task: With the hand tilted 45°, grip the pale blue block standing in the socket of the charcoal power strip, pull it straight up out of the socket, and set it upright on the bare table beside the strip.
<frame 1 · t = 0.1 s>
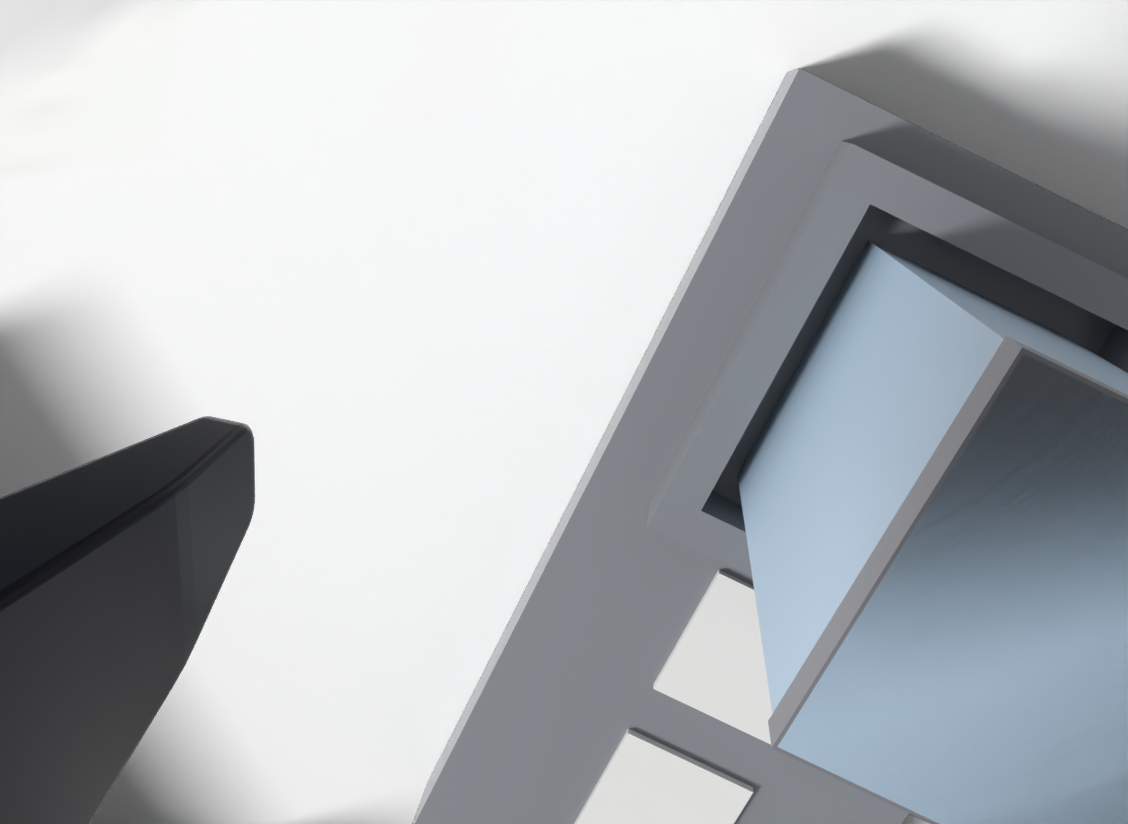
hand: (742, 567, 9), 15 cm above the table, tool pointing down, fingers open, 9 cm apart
pale blue block: (898, 409, 22), point 2 cm above the table, touching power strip
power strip: (773, 558, 26), on the table
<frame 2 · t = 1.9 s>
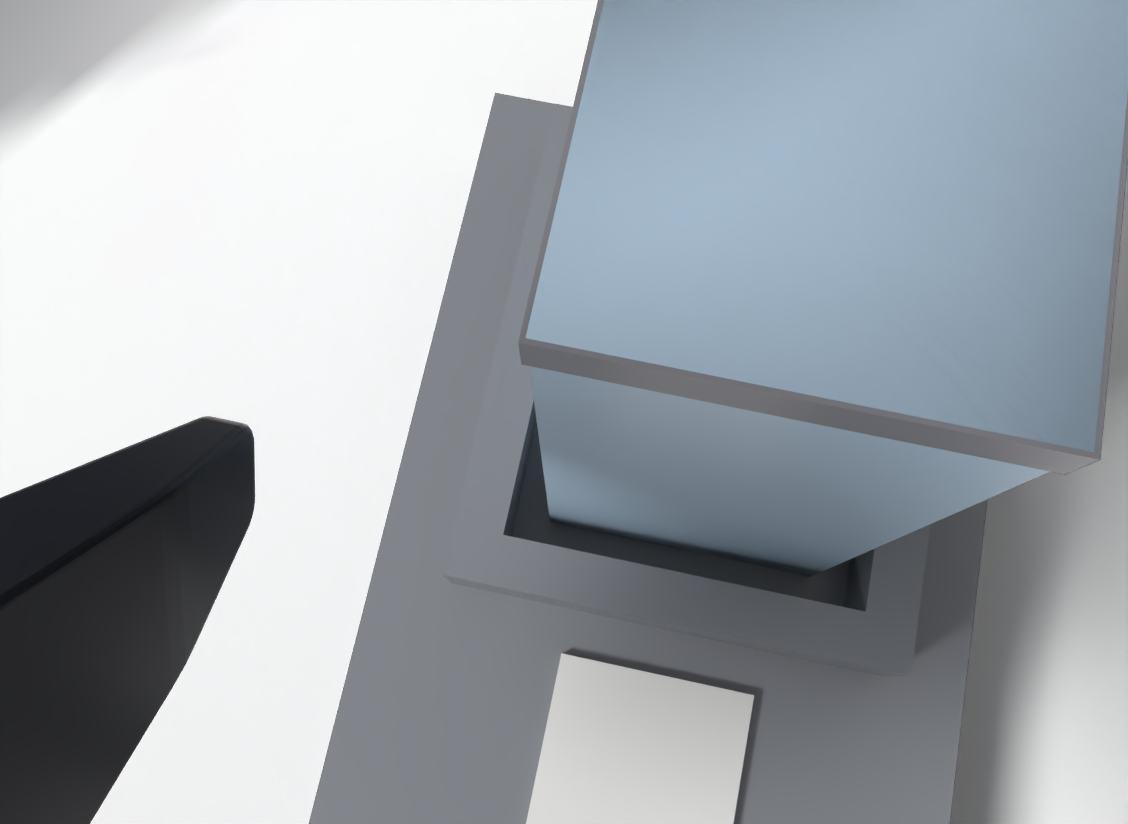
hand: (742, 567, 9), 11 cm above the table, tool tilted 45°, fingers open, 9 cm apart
pale blue block: (708, 395, 19), point 2 cm above the table, touching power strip
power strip: (645, 680, 20), on the table
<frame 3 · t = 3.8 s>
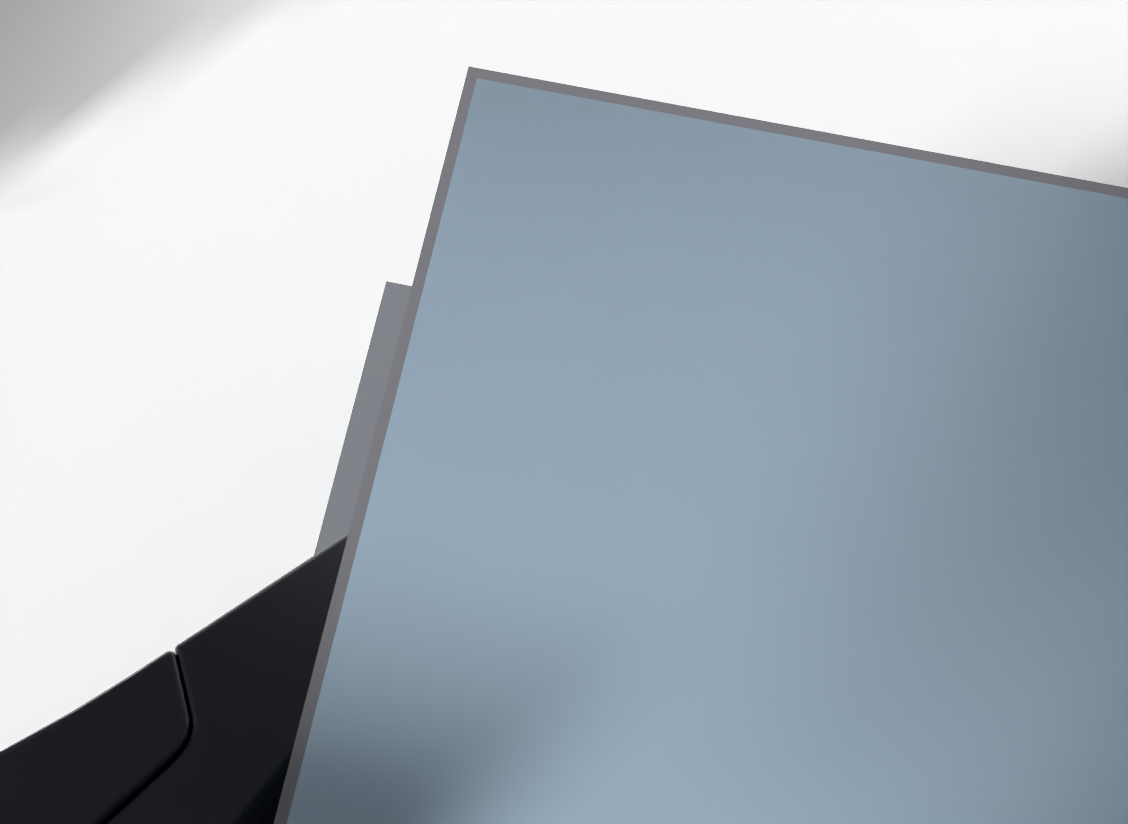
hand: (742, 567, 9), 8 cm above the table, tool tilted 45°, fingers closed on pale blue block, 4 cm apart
pale blue block: (663, 709, 14), point 2 cm above the table, touching gripper, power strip
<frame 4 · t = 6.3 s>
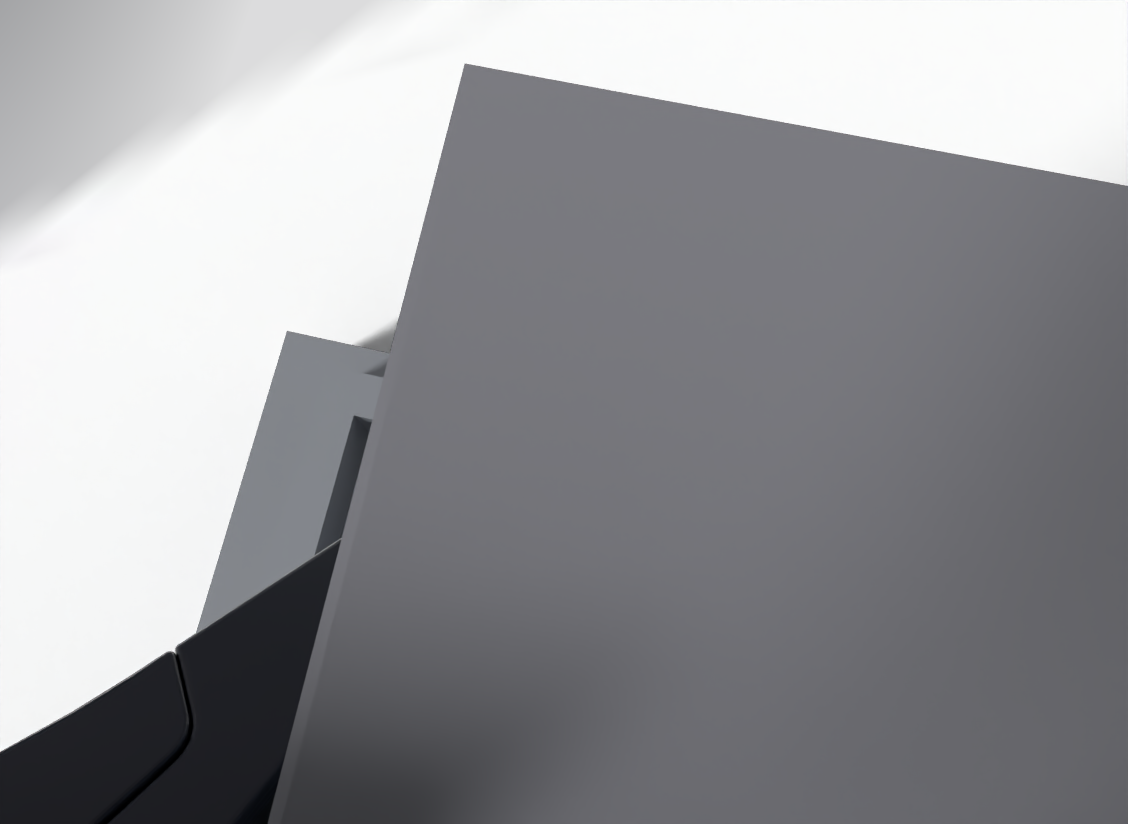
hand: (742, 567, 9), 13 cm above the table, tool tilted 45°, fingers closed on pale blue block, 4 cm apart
pale blue block: (661, 708, 14), point 8 cm above the table, touching gripper
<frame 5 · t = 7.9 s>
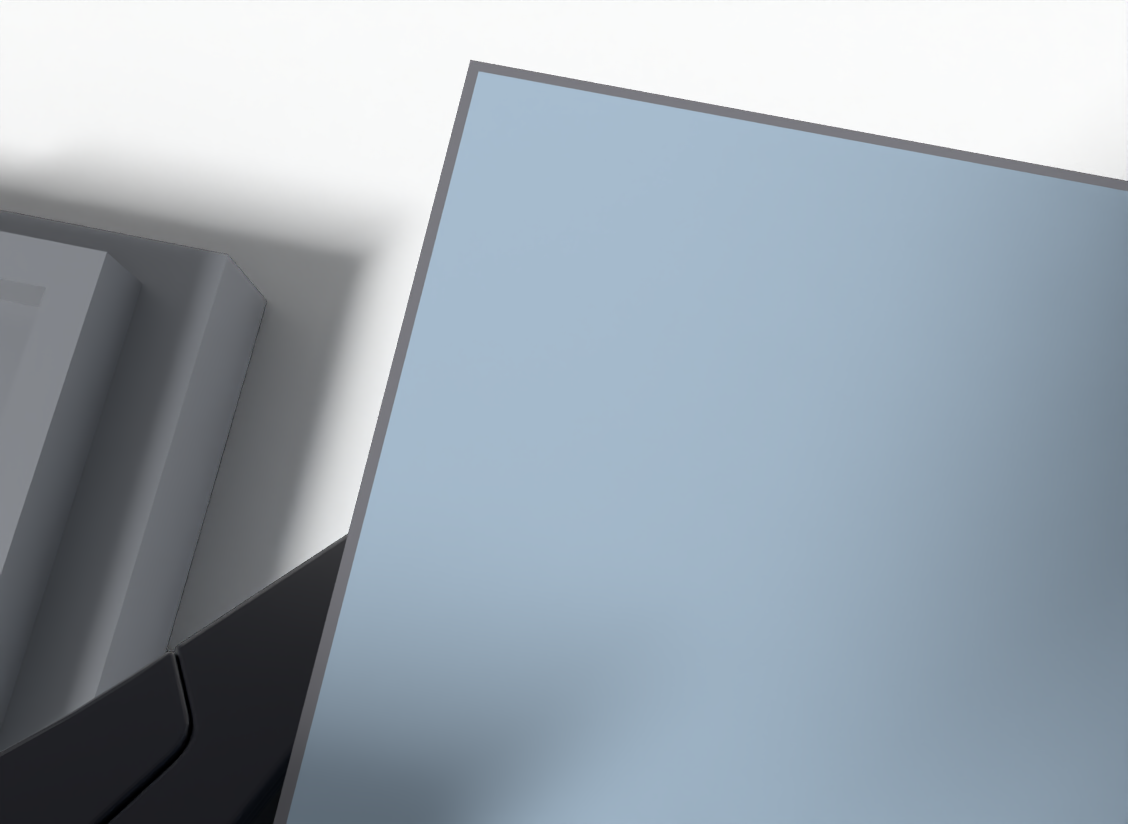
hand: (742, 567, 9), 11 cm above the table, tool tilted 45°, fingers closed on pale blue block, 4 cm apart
pale blue block: (663, 707, 14), point 6 cm above the table, touching gripper
when the fingers open (6 cm above the table, at t = 9.2 s): pale blue block drops 1 cm, on the table.
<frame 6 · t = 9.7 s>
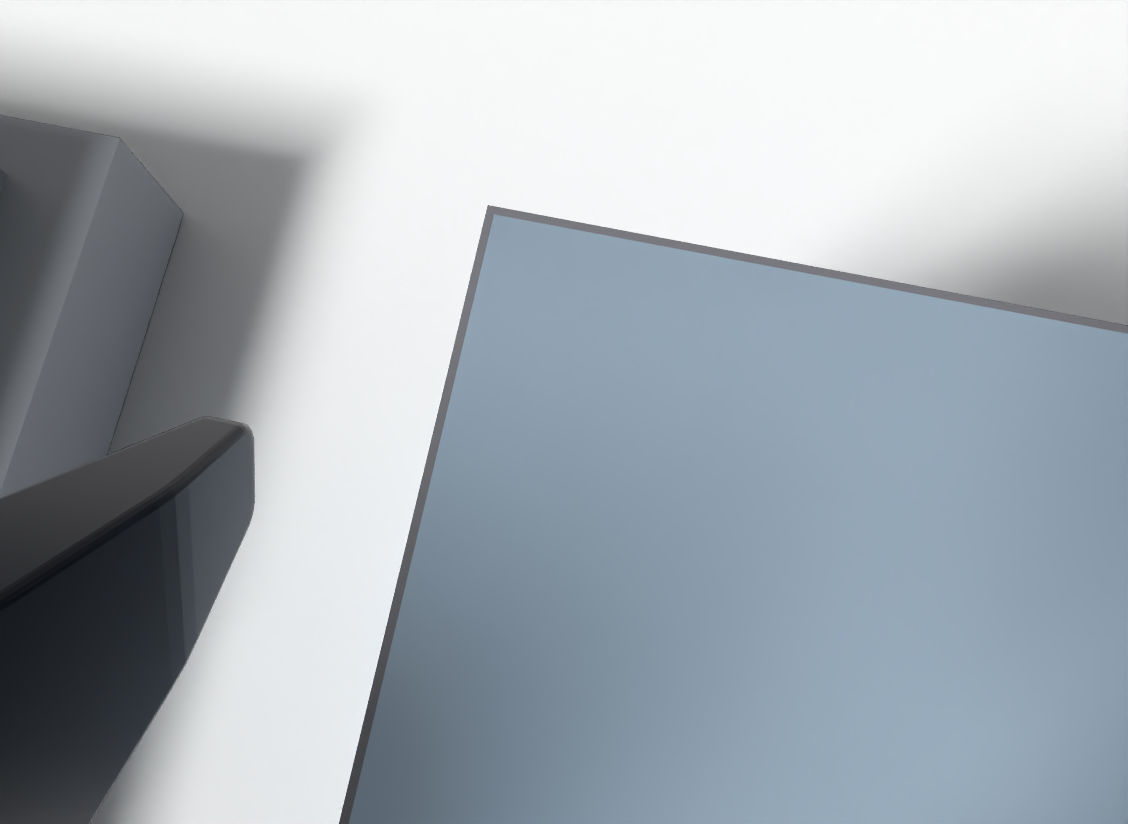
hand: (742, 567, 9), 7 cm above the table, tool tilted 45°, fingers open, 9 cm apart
pale blue block: (654, 704, 15), on the table
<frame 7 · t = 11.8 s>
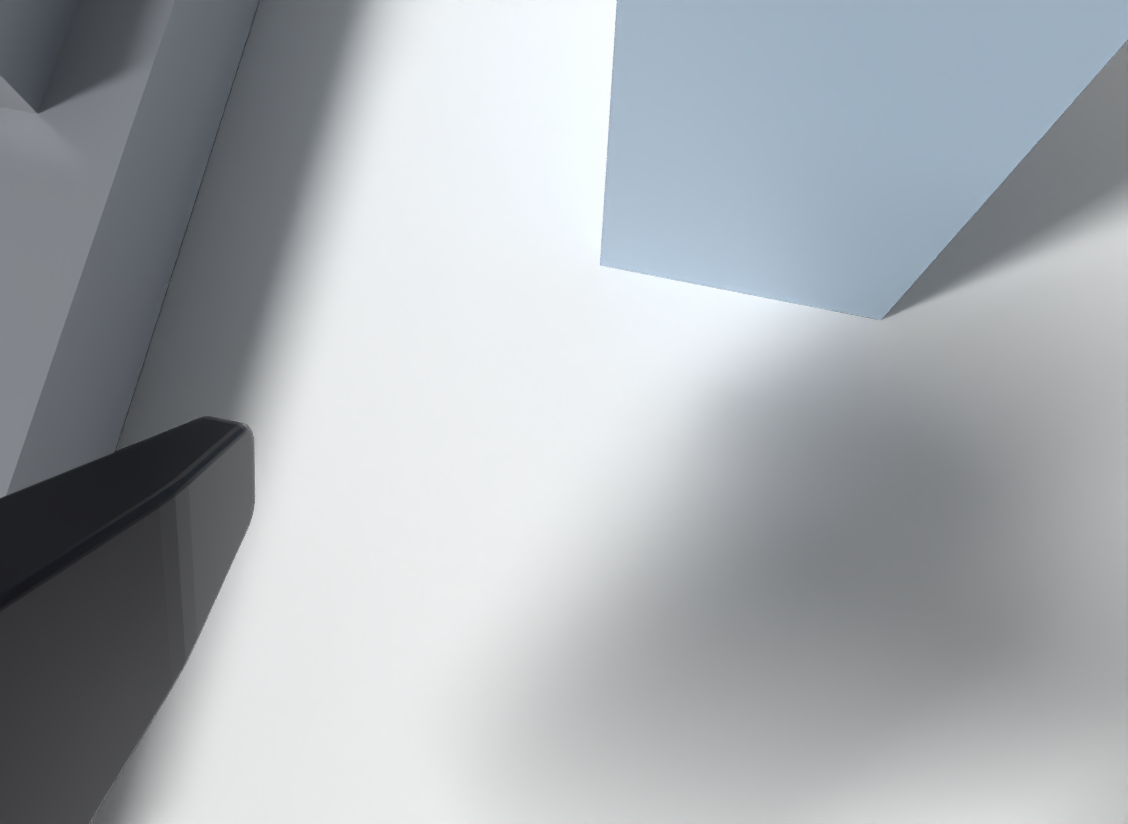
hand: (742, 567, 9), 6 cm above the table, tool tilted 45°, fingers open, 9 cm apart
pale blue block: (767, 137, 17), on the table
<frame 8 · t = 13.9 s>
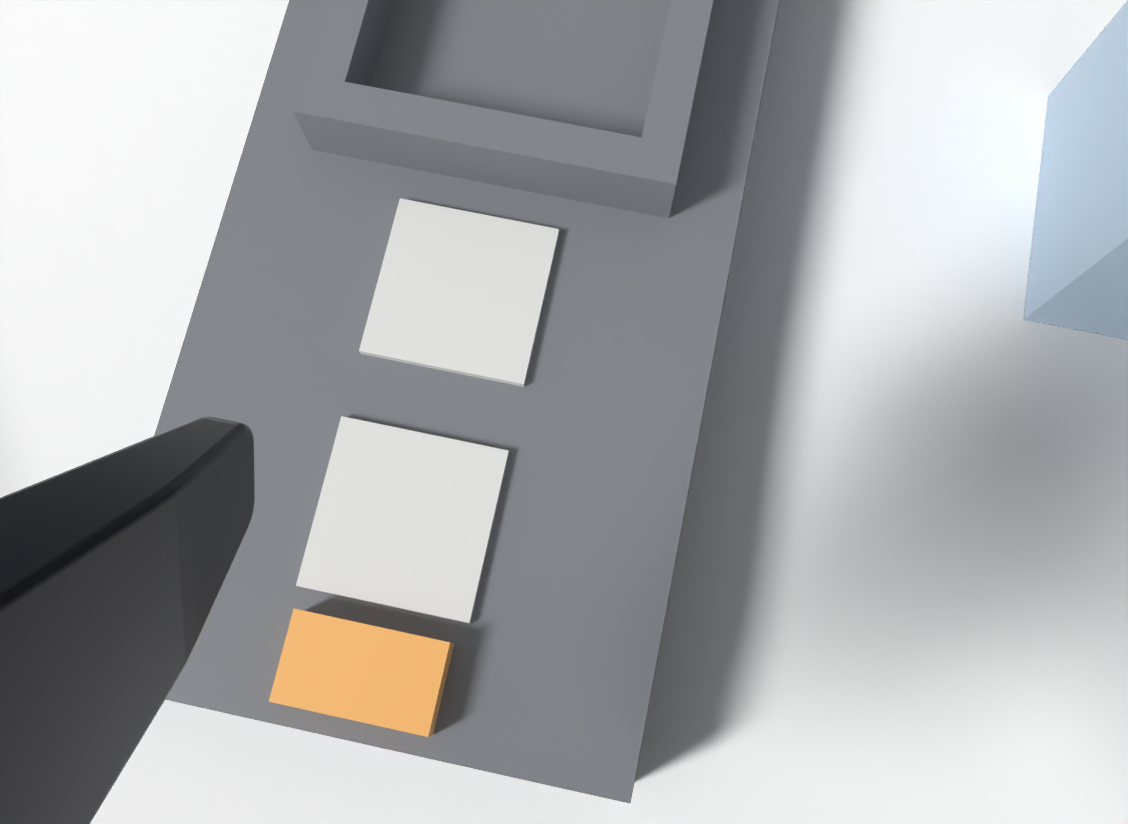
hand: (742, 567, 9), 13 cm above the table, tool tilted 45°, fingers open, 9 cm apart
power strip: (488, 269, 23), on the table
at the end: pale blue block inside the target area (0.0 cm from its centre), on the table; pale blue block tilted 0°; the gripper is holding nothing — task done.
